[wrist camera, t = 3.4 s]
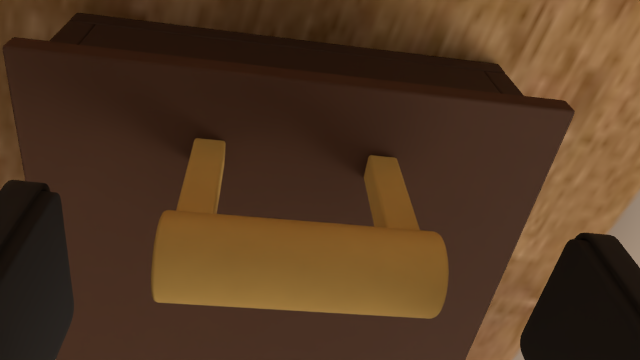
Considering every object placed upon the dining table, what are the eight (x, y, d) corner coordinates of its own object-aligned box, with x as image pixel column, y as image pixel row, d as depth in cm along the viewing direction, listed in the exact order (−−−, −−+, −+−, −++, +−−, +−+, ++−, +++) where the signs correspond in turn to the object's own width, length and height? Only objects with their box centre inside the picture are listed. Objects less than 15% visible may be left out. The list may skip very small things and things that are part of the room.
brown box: (76, 11, 16) (18, 70, 12) (498, 63, 17) (552, 127, 14) (108, 352, 23) (78, 445, 20) (395, 365, 25) (413, 454, 22)
